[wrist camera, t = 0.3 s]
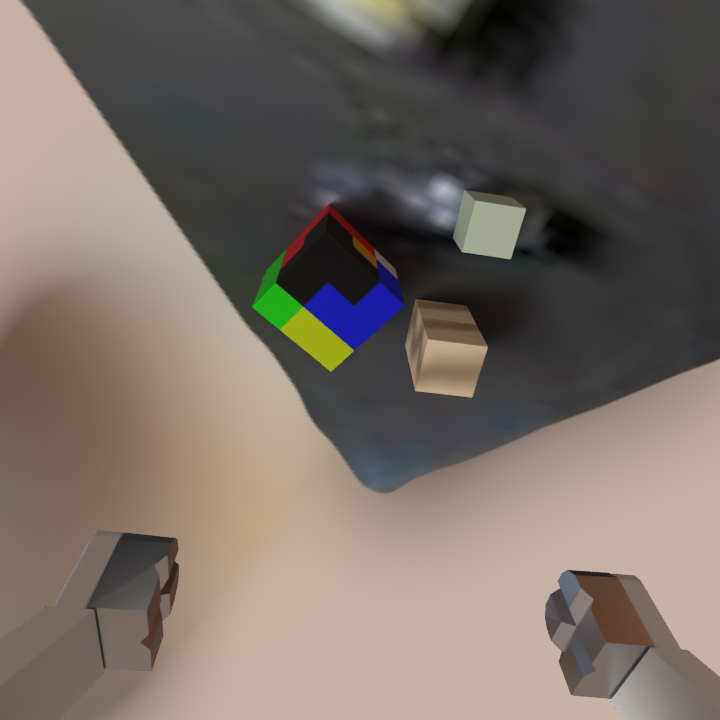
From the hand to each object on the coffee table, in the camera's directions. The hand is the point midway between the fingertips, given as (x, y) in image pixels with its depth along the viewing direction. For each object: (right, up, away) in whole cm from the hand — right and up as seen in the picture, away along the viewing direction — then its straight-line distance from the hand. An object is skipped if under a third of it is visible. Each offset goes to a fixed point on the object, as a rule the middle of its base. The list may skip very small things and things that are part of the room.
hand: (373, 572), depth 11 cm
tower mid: (+9, +6, +44) cm, 46 cm away
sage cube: (+13, +19, +43) cm, 49 cm away
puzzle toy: (-3, +15, +45) cm, 48 cm away
